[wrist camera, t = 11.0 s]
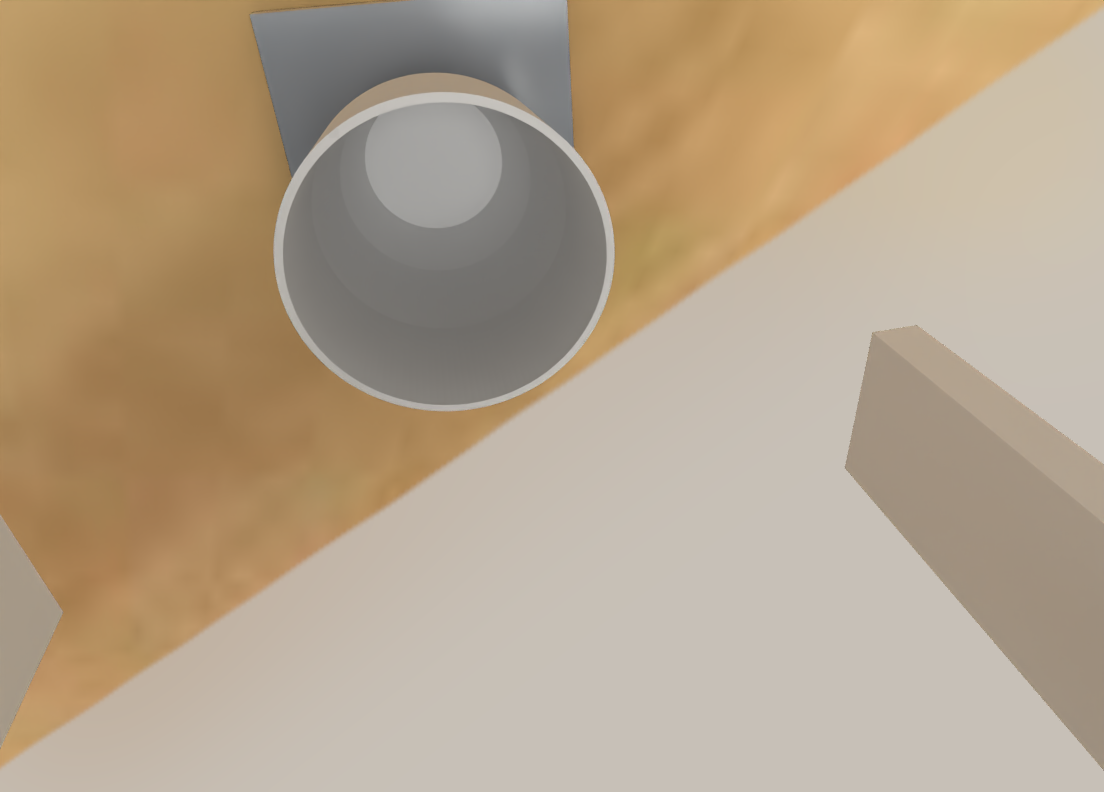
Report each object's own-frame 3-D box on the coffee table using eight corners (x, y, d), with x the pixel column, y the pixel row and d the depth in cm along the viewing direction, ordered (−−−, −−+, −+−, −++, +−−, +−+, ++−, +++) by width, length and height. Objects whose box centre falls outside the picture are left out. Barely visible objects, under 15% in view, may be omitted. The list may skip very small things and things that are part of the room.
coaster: (326, 296, 29) (325, 305, 28) (253, 11, 23) (249, 14, 23) (575, 263, 30) (579, 271, 29) (561, -15, 24) (566, -13, 24)
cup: (497, 294, 29) (537, 441, 21) (287, 226, 26) (239, 365, 18) (581, 94, 26) (671, 174, 17) (351, -11, 23) (326, 26, 14)
